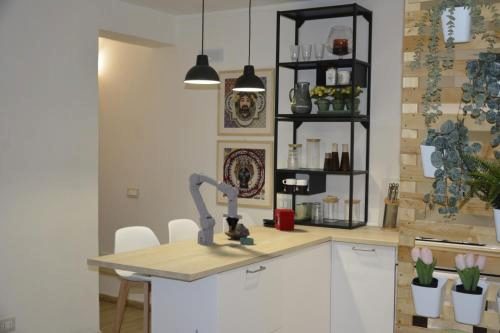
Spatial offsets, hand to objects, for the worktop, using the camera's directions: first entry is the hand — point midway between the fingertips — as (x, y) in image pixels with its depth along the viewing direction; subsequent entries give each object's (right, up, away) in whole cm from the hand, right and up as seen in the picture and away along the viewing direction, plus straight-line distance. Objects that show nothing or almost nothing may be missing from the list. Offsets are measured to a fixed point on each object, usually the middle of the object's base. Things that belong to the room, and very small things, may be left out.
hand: (232, 230), depth 369 cm
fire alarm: (+36, -8, +83) cm, 91 cm away
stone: (+3, -9, +26) cm, 28 cm away
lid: (0, -2, 0) cm, 2 cm away
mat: (0, -9, 0) cm, 9 cm away
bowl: (+9, -9, +6) cm, 14 cm away
